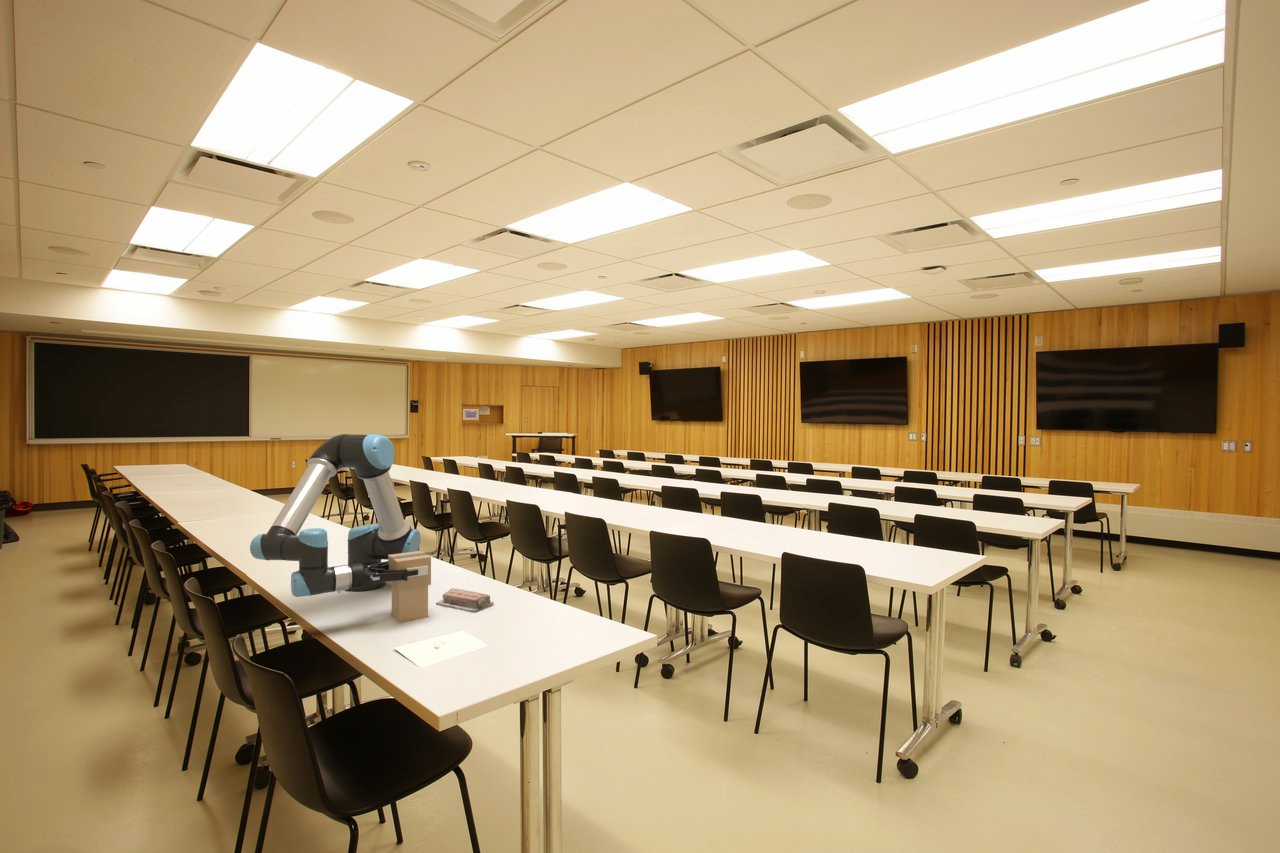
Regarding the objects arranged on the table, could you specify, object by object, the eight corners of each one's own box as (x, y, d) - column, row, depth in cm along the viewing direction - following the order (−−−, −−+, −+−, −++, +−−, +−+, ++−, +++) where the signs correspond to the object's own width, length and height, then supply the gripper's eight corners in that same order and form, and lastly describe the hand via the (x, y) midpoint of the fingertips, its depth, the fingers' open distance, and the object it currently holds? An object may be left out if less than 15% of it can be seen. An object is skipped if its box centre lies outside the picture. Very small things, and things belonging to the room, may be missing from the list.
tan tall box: (391, 614, 196) (391, 566, 196) (419, 609, 202) (419, 562, 201) (399, 622, 189) (399, 572, 189) (427, 617, 194) (428, 568, 194)
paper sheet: (471, 631, 183) (471, 627, 183) (514, 666, 160) (514, 662, 160) (391, 648, 168) (391, 644, 168) (426, 689, 146) (426, 685, 146)
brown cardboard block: (387, 582, 196) (387, 554, 196) (421, 577, 202) (421, 550, 202) (396, 590, 187) (396, 561, 187) (431, 584, 194) (431, 556, 194)
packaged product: (495, 592, 208) (474, 600, 199) (494, 606, 208) (474, 614, 199) (456, 585, 216) (435, 592, 207) (456, 598, 216) (435, 606, 207)
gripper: (341, 580, 193) (411, 569, 206) (357, 598, 175) (433, 585, 188) (341, 557, 193) (411, 548, 206) (357, 573, 175) (433, 562, 188)
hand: (422, 566), depth 197 cm, fingers closed on brown cardboard block, 11 cm apart
